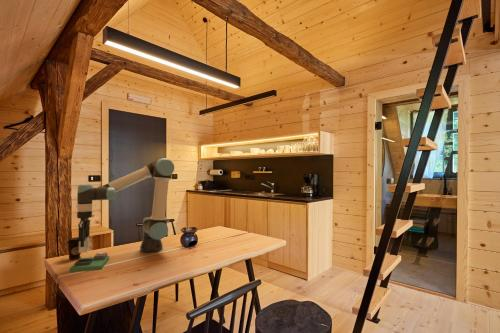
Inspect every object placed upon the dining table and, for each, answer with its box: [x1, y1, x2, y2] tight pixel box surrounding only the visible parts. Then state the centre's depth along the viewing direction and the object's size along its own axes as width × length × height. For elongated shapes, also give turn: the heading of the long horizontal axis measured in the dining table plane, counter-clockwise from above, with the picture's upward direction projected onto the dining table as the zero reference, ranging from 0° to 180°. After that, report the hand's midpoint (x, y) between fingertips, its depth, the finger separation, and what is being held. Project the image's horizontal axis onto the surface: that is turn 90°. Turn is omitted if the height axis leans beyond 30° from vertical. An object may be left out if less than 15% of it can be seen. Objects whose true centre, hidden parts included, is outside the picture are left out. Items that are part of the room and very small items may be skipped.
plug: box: [79, 236, 90, 254], centre depth 156 cm, size 4×4×8 cm
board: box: [69, 252, 110, 273], centre depth 159 cm, size 16×18×5 cm
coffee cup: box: [66, 236, 82, 261], centre depth 170 cm, size 9×8×13 cm
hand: (83, 250), depth 156 cm, fingers closed on plug, 4 cm apart
